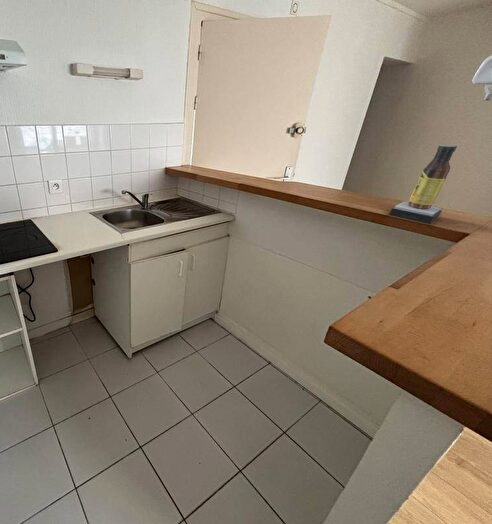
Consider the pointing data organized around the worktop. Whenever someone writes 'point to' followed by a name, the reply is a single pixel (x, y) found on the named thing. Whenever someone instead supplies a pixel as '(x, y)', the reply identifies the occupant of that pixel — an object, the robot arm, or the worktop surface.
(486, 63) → the robot arm
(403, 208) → the kitchen scale
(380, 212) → the worktop surface
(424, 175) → the sauce bottle
